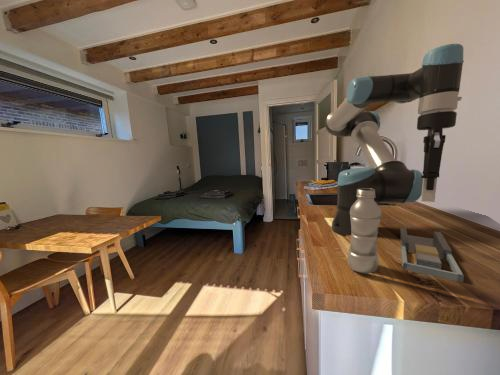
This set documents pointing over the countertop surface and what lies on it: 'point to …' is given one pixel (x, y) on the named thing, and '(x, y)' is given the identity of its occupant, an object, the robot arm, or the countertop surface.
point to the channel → (425, 242)
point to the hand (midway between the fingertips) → (427, 200)
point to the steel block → (428, 260)
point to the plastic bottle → (364, 232)
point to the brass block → (425, 249)
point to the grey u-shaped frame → (454, 275)
